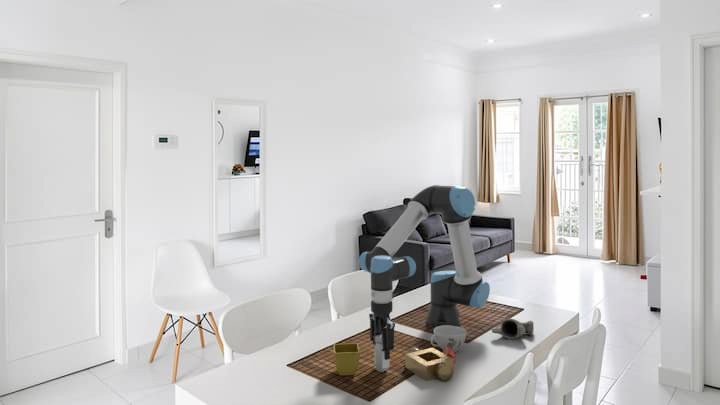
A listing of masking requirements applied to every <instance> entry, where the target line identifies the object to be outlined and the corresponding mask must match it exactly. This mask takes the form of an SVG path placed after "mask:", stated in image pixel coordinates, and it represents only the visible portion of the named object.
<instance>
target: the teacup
mask: <svg viewBox="0 0 720 405" xmlns="http://www.w3.org/2000/svg"><path fill="white" fill-rule="evenodd" d="M467 332H468V331H467V329H466V328H465V327H462V326H451V325H443V326H438V327H434V329H433V335H431V337H430V345H432V346H433V348H435V347H436V348H437V347H438V348H440V349H441V350H442V352H443V351H444V349H447V348H450V349H452V350H453V352H454V353H456V352H458V350H459V349H461V348H462V347H463V345H464V343H465V340H466V337H467ZM434 339H435V341H436V344H435V343H434V342H433V340H434Z"/></svg>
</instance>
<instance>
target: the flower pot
mask: <svg viewBox="0 0 720 405" xmlns="http://www.w3.org/2000/svg"><path fill="white" fill-rule="evenodd" d="M332 345H333V356H334V363H335V368H336V372H337V373H338V375H339V376H341V375H342V376H353V375H356V373H357V371H358V368H359V364H360V355H361V354H360V351H361V350H360V347H359V343H357V342H356V343H355V342H354V343H353V342H351V343H335V344H334V343H333V344H332Z"/></svg>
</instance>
